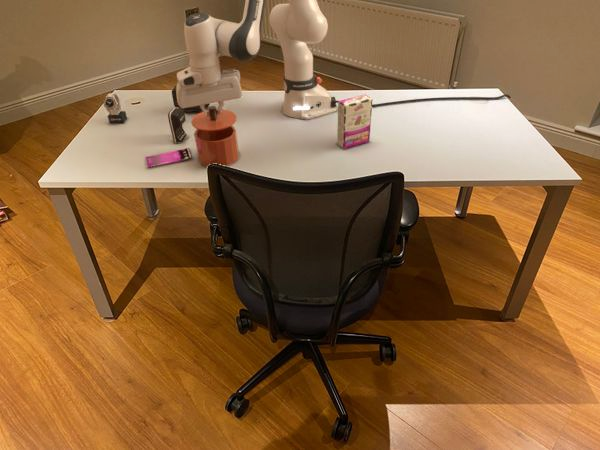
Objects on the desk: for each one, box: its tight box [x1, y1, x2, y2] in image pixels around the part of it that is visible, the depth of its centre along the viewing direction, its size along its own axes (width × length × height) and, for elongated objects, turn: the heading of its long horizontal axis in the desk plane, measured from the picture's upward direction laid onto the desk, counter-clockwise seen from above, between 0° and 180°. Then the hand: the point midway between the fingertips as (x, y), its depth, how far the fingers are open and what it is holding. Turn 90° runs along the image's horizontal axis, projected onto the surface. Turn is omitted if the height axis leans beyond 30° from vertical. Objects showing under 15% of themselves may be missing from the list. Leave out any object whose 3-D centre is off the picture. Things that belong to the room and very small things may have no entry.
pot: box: [193, 125, 240, 167], centre depth 148 cm, size 14×14×10 cm
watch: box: [102, 92, 128, 124], centre depth 171 cm, size 6×8×11 cm
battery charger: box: [167, 107, 187, 144], centre depth 158 cm, size 7×4×11 cm, turn 171°
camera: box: [171, 83, 211, 113], centre depth 177 cm, size 11×11×15 cm
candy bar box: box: [336, 94, 373, 150], centre depth 152 cm, size 11×5×16 cm, turn 117°
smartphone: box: [145, 147, 193, 169], centre depth 150 cm, size 7×15×1 cm, turn 111°
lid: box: [191, 105, 237, 131], centre depth 142 cm, size 15×15×5 cm
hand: (213, 115), depth 142 cm, fingers closed on lid, 2 cm apart
